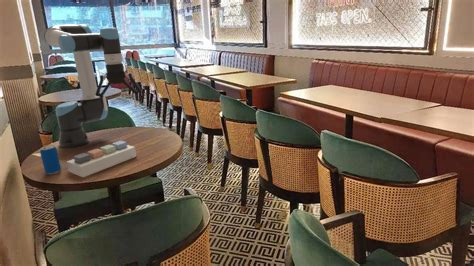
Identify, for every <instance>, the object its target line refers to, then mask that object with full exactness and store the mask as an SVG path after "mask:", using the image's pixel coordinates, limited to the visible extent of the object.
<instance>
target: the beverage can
mask: <svg viewBox="0 0 474 266" xmlns="http://www.w3.org/2000/svg"><path fill="white" fill-rule="evenodd" d="M39 153H40V157H41V161H42V165H43V169H44V173H45V174H47V175H56V174H57V173H60V171H61V170H62V167H61V166H62V165H61V162H60V158H59V153H58V149H57V147H56V145H53V144H49V145H45V146H42V147H40V151H39Z"/></svg>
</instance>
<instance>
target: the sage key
mask: <svg viewBox="0 0 474 266" xmlns="http://www.w3.org/2000/svg"><path fill="white" fill-rule="evenodd" d="M99 148H100V150H103V154H106V155H107V154H110V153H113V152H115V151H116V149H115V146H113V145H112V144H107V145H104V146H100V147H99Z"/></svg>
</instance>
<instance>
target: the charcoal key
mask: <svg viewBox="0 0 474 266" xmlns="http://www.w3.org/2000/svg"><path fill="white" fill-rule="evenodd" d="M73 159H74V160H75V162H76V163H78V164H82V163H85V162H88V161H90V160H91V159H90V155H88V153H85V152H83V153H80V154H76V155H74V156H73Z"/></svg>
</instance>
